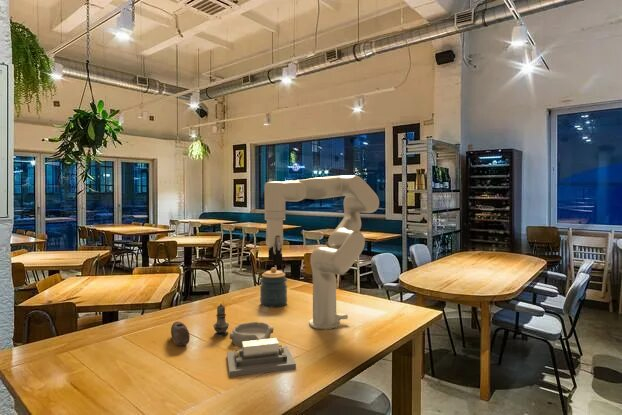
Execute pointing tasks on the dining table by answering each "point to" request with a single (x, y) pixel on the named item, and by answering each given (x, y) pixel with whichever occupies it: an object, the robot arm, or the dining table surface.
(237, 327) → the dish
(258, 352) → the aluminium bar
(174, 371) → the dining table surface
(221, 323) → the dark grey chess piece
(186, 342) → the perforated stone tool
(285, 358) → the switch frame
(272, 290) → the canister
